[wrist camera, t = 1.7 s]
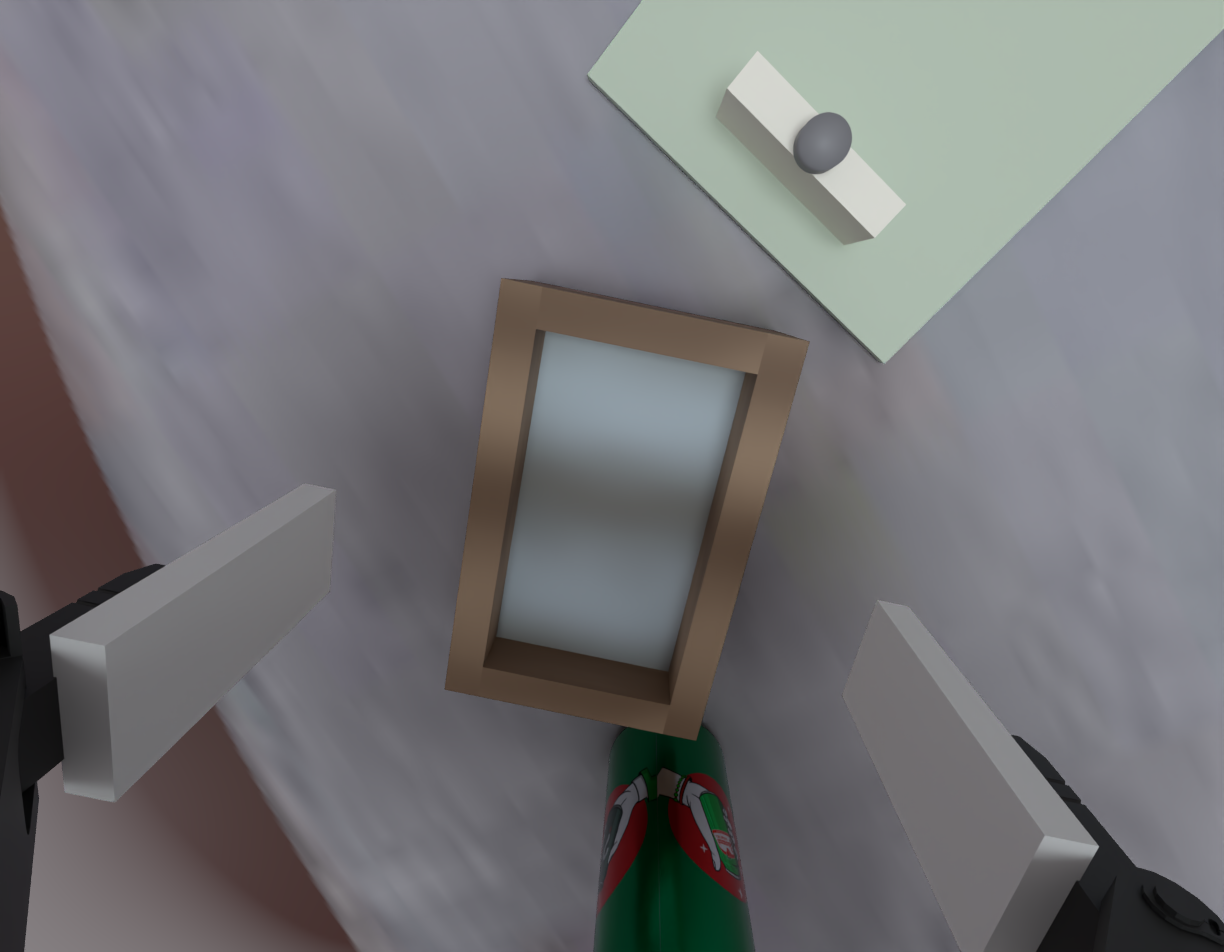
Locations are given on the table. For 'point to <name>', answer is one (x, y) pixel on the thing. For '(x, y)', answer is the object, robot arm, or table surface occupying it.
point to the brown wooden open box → (614, 503)
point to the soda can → (670, 850)
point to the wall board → (891, 126)
